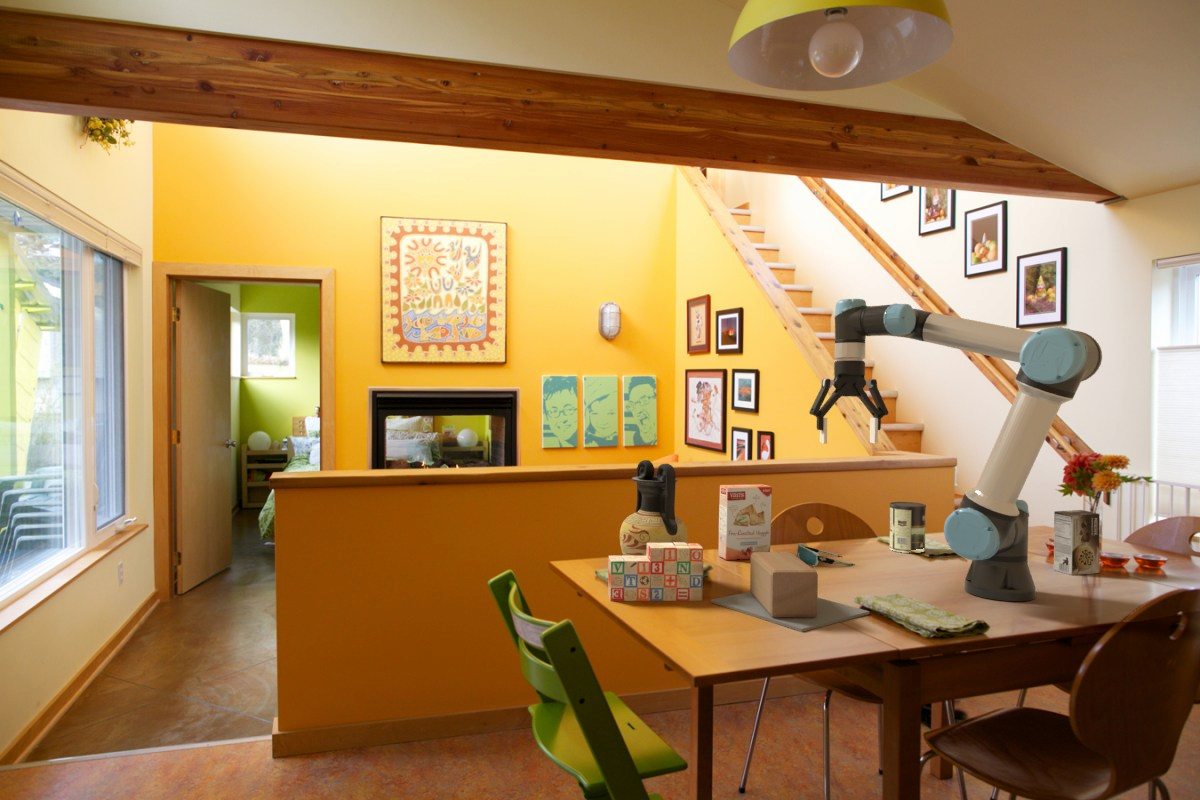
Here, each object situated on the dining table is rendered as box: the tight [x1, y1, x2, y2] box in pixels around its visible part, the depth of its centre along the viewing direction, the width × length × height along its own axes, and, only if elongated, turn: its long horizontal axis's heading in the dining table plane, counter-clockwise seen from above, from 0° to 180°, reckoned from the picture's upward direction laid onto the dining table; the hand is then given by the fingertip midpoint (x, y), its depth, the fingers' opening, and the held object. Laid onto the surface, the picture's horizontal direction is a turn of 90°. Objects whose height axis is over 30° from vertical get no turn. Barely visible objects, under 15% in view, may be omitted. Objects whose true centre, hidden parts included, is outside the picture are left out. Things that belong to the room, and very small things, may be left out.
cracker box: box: [717, 483, 773, 561], centre depth 225 cm, size 14×6×21 cm, turn 105°
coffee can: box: [888, 501, 927, 554], centre depth 237 cm, size 10×10×14 cm
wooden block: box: [749, 551, 819, 618], centre depth 173 cm, size 10×10×20 cm
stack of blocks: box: [607, 542, 704, 602], centre depth 182 cm, size 21×6×12 cm, turn 94°
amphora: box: [619, 459, 688, 556], centre depth 197 cm, size 18×17×30 cm
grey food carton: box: [1053, 509, 1100, 576], centre depth 211 cm, size 9×6×16 cm
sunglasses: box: [795, 543, 856, 567], centre depth 222 cm, size 14×15×5 cm
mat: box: [710, 591, 870, 633], centre depth 173 cm, size 26×22×1 cm
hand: (848, 443), depth 201 cm, fingers open, 13 cm apart
